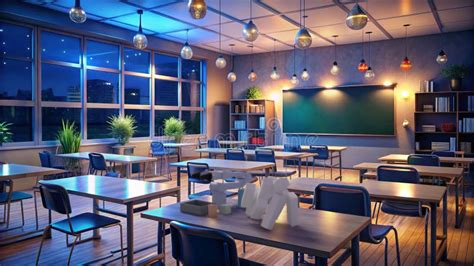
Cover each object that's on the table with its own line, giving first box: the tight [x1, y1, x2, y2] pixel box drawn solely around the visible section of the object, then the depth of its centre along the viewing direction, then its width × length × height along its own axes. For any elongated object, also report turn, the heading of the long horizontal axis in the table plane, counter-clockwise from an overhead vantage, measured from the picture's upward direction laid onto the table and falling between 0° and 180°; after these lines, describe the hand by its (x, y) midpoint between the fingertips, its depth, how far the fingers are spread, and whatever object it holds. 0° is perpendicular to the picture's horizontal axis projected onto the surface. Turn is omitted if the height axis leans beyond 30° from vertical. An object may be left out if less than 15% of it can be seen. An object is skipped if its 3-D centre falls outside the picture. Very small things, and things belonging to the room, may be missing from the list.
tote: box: [179, 199, 217, 217], centre depth 227 cm, size 14×18×5 cm
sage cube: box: [218, 203, 232, 215], centre depth 223 cm, size 5×5×5 cm
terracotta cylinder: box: [207, 204, 218, 219], centre depth 214 cm, size 5×5×7 cm
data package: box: [237, 187, 246, 210], centre depth 235 cm, size 12×4×12 cm, turn 50°
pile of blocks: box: [241, 175, 300, 231], centre depth 198 cm, size 35×30×35 cm
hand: (196, 176), depth 224 cm, fingers open, 7 cm apart
